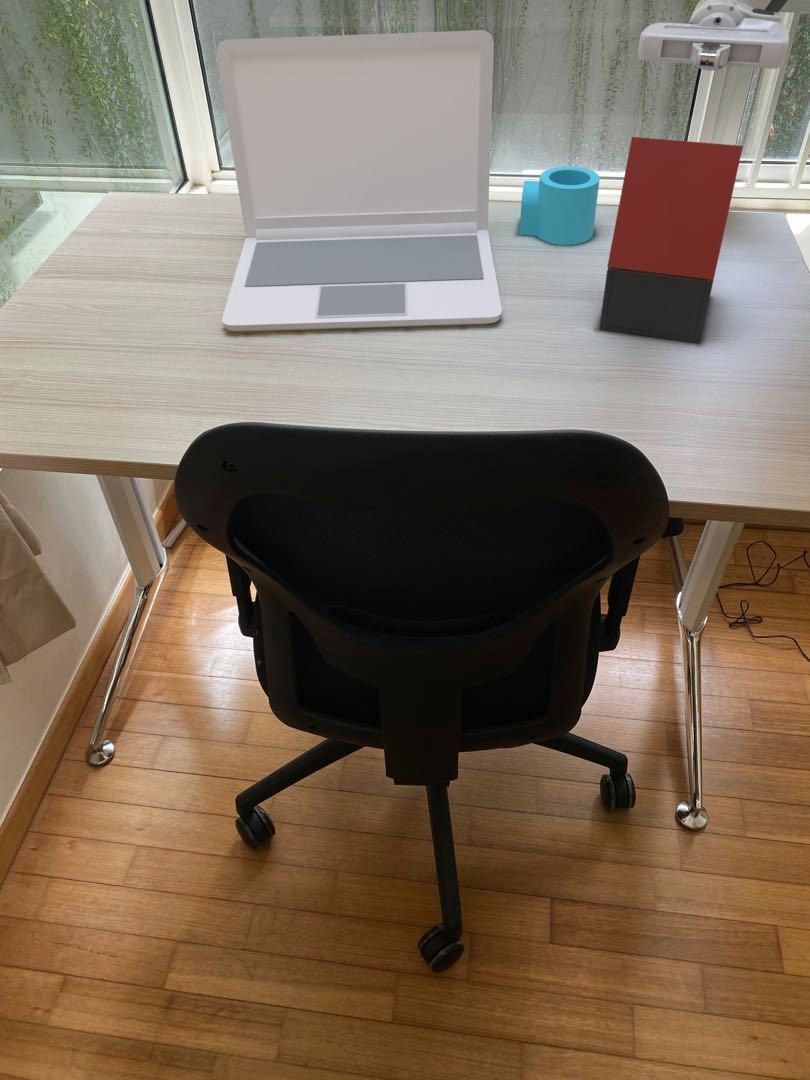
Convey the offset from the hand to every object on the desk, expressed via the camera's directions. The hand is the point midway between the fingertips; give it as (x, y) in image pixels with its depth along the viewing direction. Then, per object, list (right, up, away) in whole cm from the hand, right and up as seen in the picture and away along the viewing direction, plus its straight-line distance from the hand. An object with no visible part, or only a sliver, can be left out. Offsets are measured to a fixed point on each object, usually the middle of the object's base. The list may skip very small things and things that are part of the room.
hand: (707, 60), depth 119 cm
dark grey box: (-5, -33, +6) cm, 34 cm away
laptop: (-48, -26, +16) cm, 56 cm away
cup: (-16, -14, +27) cm, 34 cm away
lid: (-7, -23, -7) cm, 25 cm away
